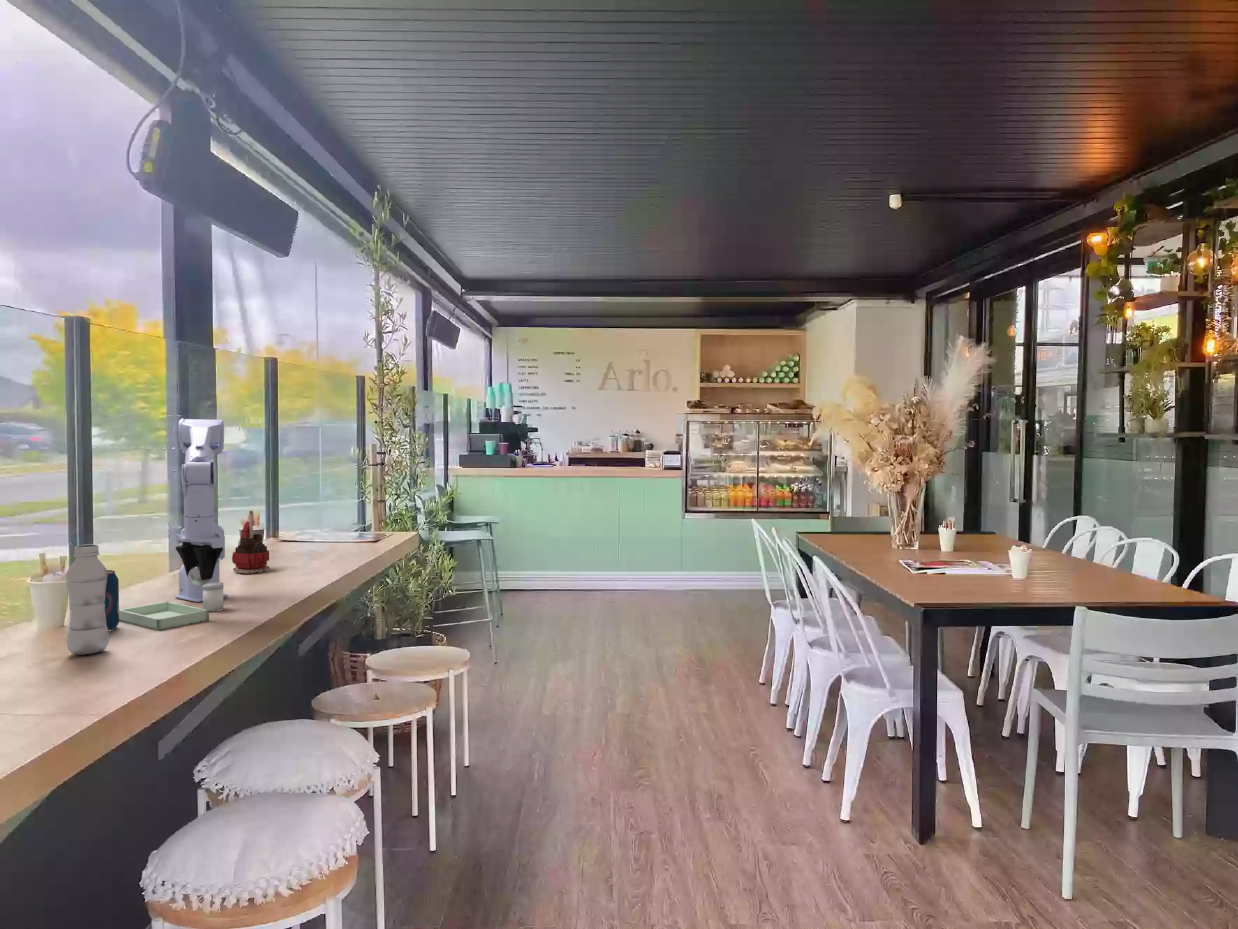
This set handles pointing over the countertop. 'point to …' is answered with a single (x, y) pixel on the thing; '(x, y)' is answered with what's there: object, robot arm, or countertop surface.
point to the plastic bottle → (87, 602)
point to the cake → (250, 551)
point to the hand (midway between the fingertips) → (199, 578)
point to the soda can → (112, 600)
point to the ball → (196, 576)
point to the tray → (163, 615)
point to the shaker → (213, 596)
